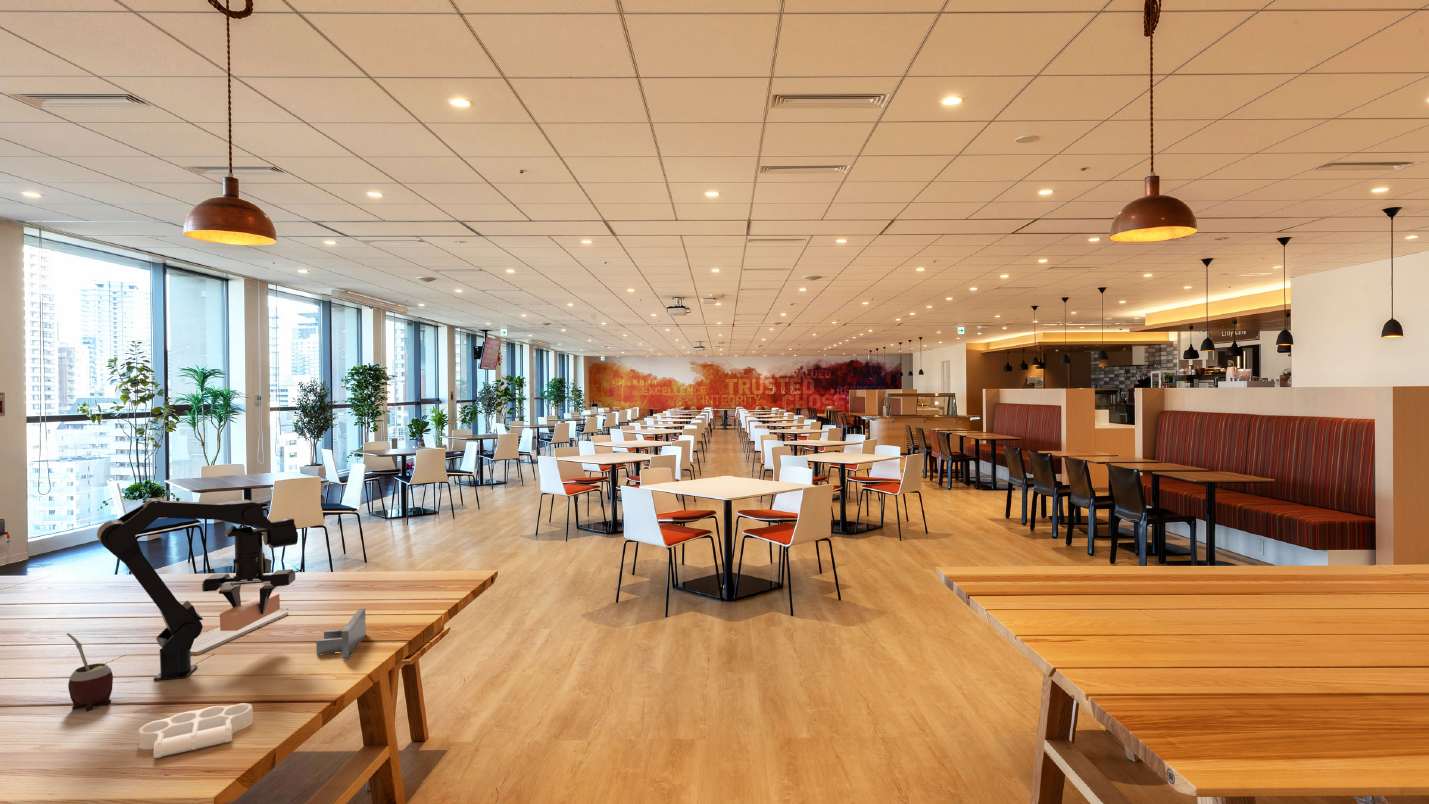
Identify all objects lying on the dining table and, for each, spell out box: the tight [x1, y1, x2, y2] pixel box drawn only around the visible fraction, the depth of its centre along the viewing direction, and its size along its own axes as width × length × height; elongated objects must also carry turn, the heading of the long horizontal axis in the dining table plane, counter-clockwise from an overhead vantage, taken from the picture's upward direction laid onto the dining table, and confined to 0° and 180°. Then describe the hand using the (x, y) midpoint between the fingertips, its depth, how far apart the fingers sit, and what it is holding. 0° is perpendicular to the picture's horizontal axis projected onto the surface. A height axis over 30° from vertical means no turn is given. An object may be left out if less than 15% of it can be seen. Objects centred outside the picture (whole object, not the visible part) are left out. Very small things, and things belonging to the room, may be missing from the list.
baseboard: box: [190, 608, 289, 656], centre depth 197 cm, size 31×3×12 cm
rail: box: [219, 593, 281, 631], centre depth 180 cm, size 16×4×4 cm, turn 178°
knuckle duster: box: [137, 702, 254, 759], centre depth 140 cm, size 3×18×15 cm
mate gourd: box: [66, 632, 114, 712], centre depth 153 cm, size 8×8×15 cm
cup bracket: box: [315, 607, 367, 660], centre depth 185 cm, size 18×8×7 cm, turn 14°
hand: (251, 614), depth 180 cm, fingers closed on rail, 5 cm apart
